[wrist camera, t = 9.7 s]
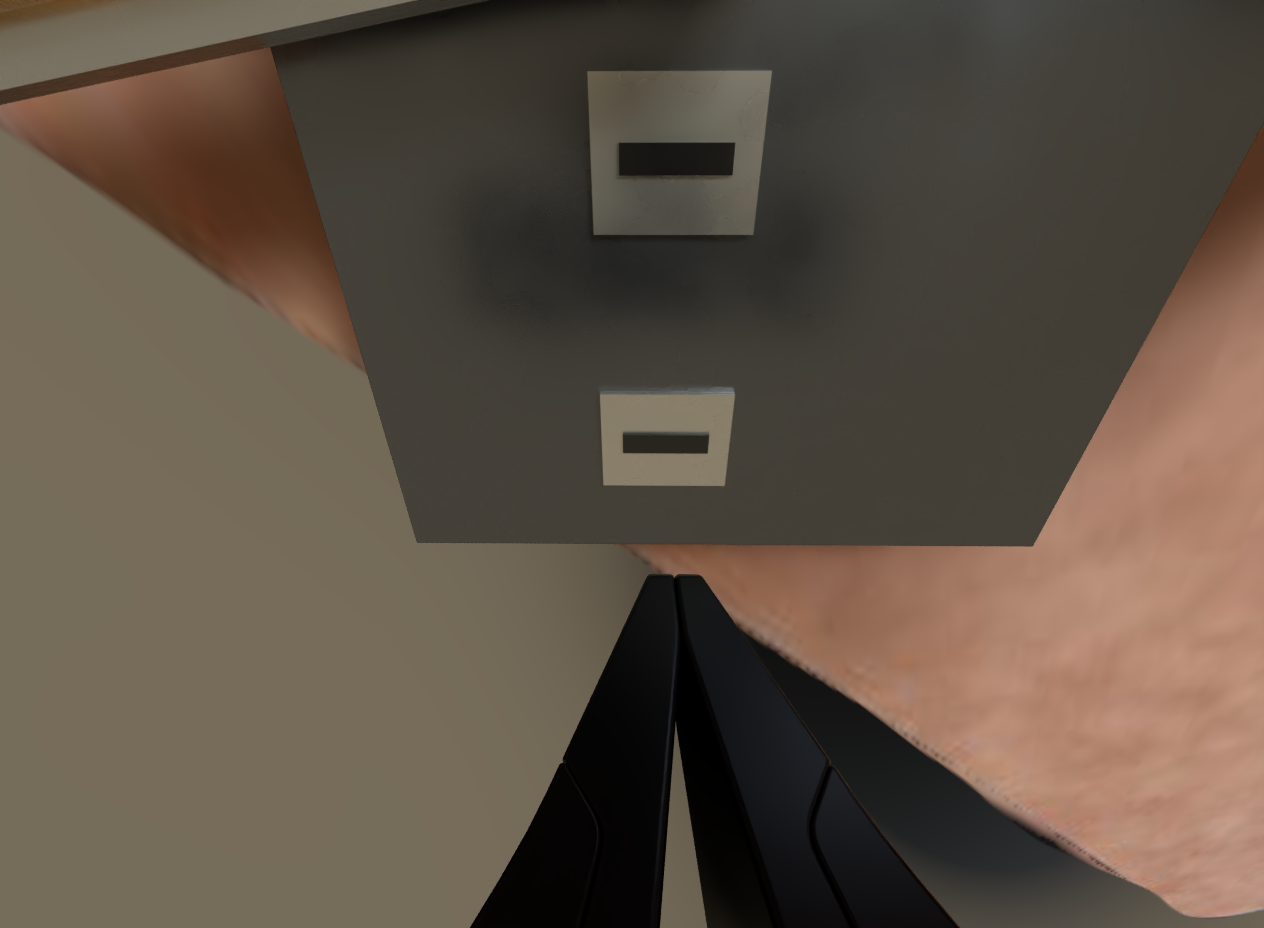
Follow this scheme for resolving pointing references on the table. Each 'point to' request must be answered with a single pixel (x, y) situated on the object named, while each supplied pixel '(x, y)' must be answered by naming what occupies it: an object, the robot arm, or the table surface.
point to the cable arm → (163, 34)
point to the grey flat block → (763, 252)
